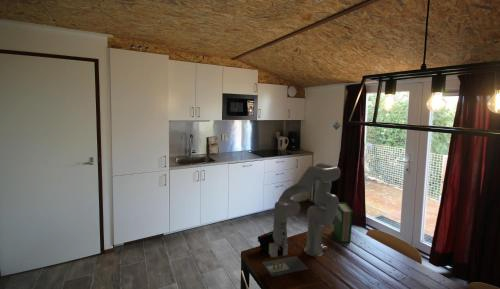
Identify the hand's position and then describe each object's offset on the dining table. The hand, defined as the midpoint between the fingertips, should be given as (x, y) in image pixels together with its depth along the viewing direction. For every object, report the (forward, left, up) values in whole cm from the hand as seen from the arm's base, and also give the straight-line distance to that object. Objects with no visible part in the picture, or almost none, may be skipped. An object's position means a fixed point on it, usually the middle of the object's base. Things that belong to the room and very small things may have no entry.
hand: (278, 252), depth 148 cm
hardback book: (-65, -23, -11) cm, 69 cm away
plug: (-3, 0, -1) cm, 3 cm away
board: (-5, -1, -11) cm, 12 cm away
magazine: (-1, -18, -11) cm, 21 cm away
